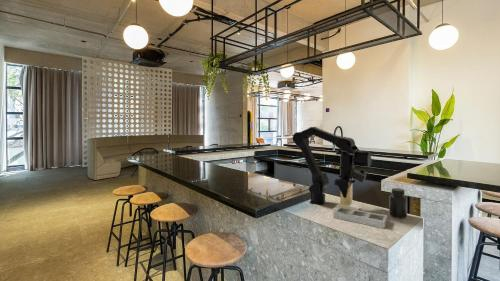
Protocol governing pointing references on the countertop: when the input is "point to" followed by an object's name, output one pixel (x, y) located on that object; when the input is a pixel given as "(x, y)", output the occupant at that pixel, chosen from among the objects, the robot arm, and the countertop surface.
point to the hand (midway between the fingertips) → (346, 196)
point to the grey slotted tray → (360, 217)
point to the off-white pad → (346, 207)
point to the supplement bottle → (398, 204)
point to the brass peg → (349, 196)
